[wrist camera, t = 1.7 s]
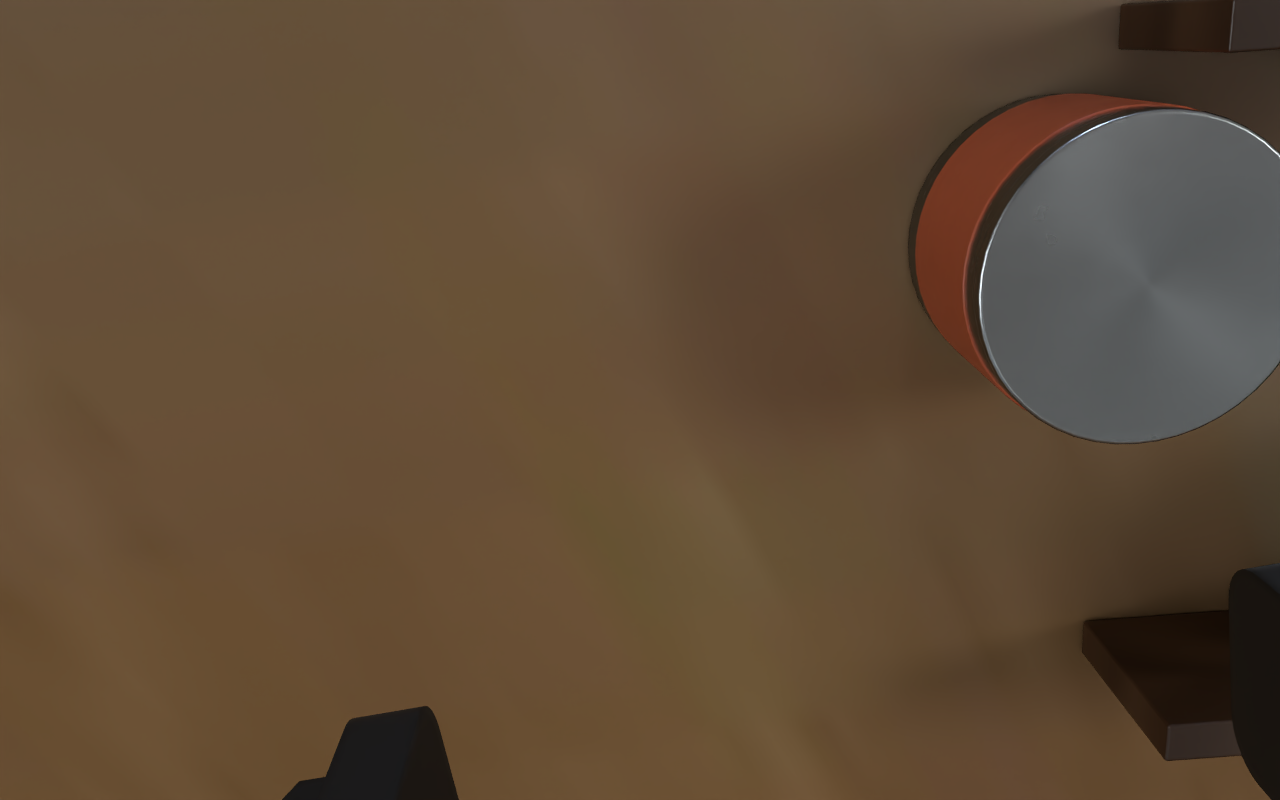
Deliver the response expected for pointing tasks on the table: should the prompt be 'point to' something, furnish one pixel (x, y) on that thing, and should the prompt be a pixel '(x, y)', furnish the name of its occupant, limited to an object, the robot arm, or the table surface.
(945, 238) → the tin can
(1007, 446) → the table surface
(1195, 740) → the dark brown tray
